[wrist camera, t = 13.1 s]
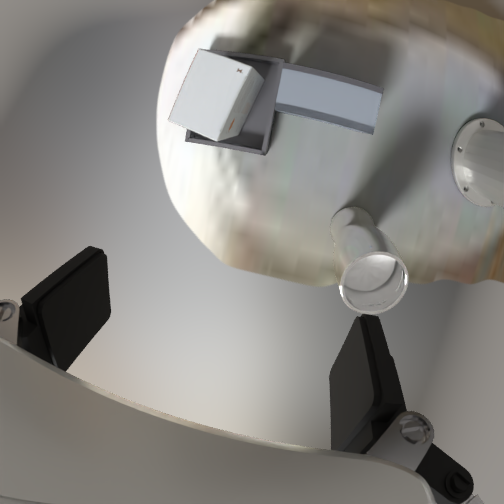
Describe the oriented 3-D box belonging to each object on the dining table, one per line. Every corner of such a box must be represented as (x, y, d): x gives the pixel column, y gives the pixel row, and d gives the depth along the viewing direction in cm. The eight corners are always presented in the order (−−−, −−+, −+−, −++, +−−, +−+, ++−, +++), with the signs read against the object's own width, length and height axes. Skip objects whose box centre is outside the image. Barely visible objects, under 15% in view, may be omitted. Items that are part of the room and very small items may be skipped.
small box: (225, 63, 32) (198, 45, 23) (266, 80, 33) (253, 65, 23) (199, 119, 36) (165, 120, 26) (238, 136, 36) (216, 142, 27)
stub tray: (285, 63, 32) (284, 59, 30) (267, 153, 37) (264, 155, 35) (207, 53, 33) (201, 49, 30) (191, 140, 38) (185, 141, 35)
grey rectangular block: (366, 94, 32) (383, 88, 25) (358, 131, 34) (373, 134, 27) (287, 74, 33) (283, 62, 25) (279, 112, 35) (273, 109, 27)
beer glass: (318, 242, 41) (325, 304, 27) (338, 195, 38) (358, 237, 24) (363, 258, 41) (387, 324, 27) (385, 214, 38) (423, 264, 24)
